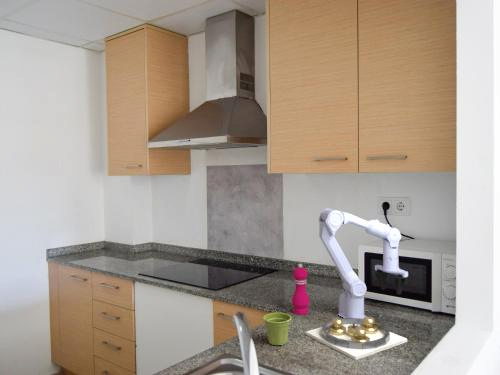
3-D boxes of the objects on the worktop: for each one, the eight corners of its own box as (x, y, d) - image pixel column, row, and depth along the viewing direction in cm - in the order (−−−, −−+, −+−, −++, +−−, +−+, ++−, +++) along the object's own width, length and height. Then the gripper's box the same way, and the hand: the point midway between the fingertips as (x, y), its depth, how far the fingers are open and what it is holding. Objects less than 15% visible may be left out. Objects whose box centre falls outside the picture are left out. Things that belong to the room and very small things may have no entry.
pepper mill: (290, 314, 168) (289, 265, 167) (294, 308, 175) (293, 261, 174) (307, 316, 166) (307, 266, 165) (311, 310, 172) (310, 262, 171)
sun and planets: (325, 331, 147) (324, 318, 147) (343, 326, 152) (342, 313, 151) (360, 348, 133) (360, 334, 133) (379, 341, 137) (379, 328, 137)
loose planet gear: (356, 329, 148) (356, 317, 148) (368, 326, 151) (368, 314, 151) (369, 335, 143) (369, 322, 142) (381, 331, 146) (381, 319, 145)
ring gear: (308, 331, 147) (308, 326, 147) (354, 318, 159) (354, 313, 158) (355, 355, 128) (355, 348, 128) (403, 338, 139) (403, 332, 139)
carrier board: (305, 334, 147) (305, 331, 147) (354, 320, 160) (354, 317, 160) (355, 360, 127) (355, 356, 127) (407, 341, 139) (407, 338, 139)
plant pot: (271, 350, 135) (271, 324, 134) (259, 339, 143) (258, 315, 143) (296, 345, 138) (296, 319, 138) (283, 335, 147) (283, 310, 147)
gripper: (413, 259, 160) (413, 294, 160) (383, 253, 172) (383, 285, 172) (401, 261, 156) (401, 297, 156) (371, 255, 168) (371, 288, 169)
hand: (391, 291), depth 164 cm, fingers open, 7 cm apart
